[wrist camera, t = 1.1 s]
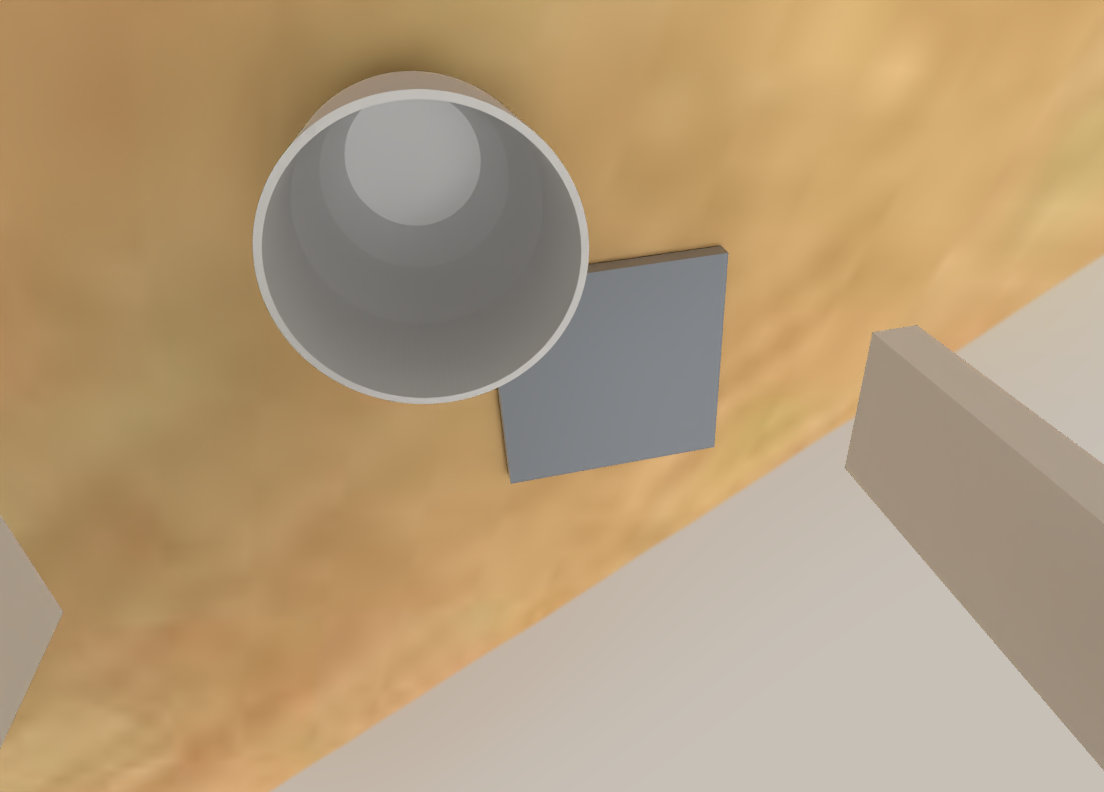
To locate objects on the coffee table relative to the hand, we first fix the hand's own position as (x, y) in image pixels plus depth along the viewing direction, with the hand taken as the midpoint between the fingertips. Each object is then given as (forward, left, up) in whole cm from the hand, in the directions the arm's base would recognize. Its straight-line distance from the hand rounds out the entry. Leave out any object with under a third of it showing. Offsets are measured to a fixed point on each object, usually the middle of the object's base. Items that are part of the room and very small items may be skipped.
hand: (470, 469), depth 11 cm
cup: (0, 0, -18) cm, 18 cm away
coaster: (+7, -10, -18) cm, 22 cm away
